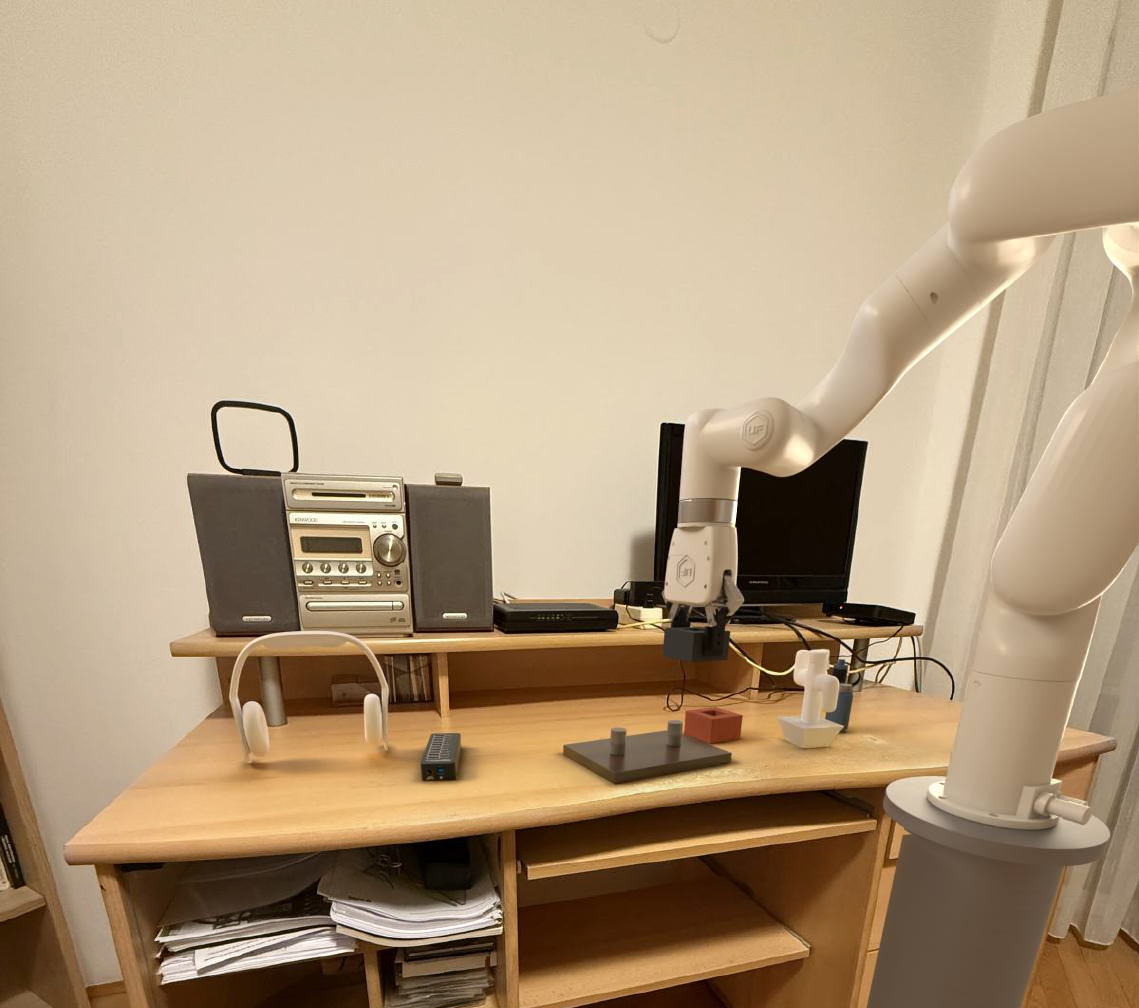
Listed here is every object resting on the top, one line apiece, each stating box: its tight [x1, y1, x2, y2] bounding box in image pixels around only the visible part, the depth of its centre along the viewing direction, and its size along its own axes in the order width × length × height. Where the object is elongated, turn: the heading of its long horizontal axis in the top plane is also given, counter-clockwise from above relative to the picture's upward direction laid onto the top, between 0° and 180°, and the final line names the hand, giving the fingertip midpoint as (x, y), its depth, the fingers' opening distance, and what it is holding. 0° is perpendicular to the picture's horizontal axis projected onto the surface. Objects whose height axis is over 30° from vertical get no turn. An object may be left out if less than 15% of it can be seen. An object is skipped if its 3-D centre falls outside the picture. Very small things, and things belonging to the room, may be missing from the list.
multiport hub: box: [420, 732, 462, 782], centre depth 84 cm, size 4×14×2 cm, turn 7°
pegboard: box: [562, 719, 733, 785], centre depth 87 cm, size 14×20×5 cm
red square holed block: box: [683, 706, 744, 745], centre depth 99 cm, size 6×6×4 cm
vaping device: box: [824, 658, 854, 734], centre depth 103 cm, size 3×5×12 cm, turn 4°
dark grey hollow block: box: [662, 626, 731, 664], centre depth 85 cm, size 6×6×4 cm
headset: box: [228, 630, 390, 764], centre depth 82 cm, size 20×7×18 cm, turn 111°
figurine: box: [776, 648, 844, 749], centre depth 94 cm, size 7×9×15 cm
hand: (695, 650), depth 85 cm, fingers closed on dark grey hollow block, 6 cm apart
